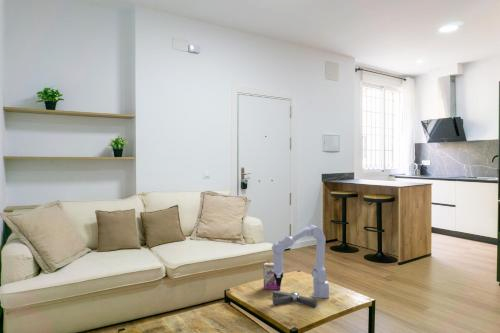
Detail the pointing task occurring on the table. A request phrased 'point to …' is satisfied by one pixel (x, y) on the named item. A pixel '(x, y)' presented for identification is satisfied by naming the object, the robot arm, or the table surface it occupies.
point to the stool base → (294, 300)
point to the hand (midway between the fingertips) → (278, 285)
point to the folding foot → (280, 294)
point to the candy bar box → (270, 277)
